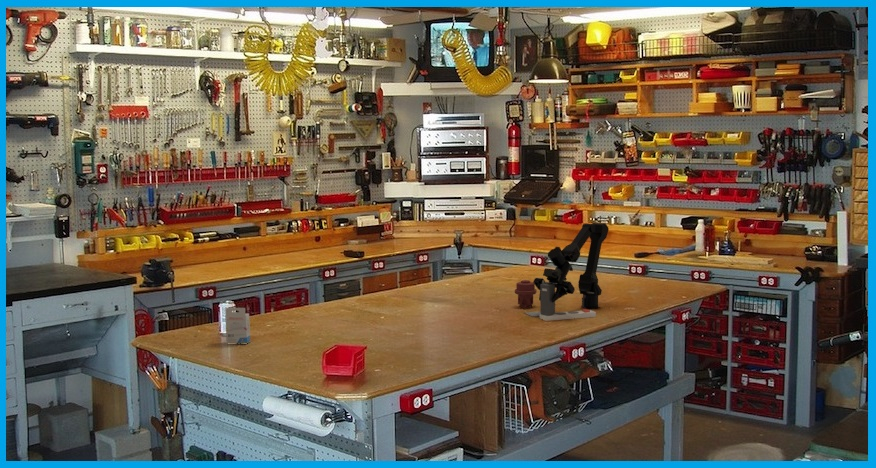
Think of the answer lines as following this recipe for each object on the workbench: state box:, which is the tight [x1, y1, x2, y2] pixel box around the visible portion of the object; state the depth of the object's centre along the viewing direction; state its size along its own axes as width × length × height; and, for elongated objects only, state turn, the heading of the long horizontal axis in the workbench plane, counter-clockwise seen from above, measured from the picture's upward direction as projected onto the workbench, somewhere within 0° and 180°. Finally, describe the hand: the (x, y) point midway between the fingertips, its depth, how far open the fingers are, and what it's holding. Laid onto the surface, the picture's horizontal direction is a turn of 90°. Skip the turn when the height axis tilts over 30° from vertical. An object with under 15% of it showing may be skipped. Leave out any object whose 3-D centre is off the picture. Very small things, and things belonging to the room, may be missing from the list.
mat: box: [524, 311, 540, 318], centre depth 456 cm, size 8×8×1 cm
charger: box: [539, 283, 556, 315], centre depth 445 cm, size 5×4×13 cm
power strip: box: [539, 308, 597, 322], centre depth 448 cm, size 24×6×3 cm, turn 107°
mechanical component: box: [514, 279, 537, 310], centre depth 473 cm, size 12×10×10 cm
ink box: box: [225, 307, 251, 344], centre depth 406 cm, size 8×5×15 cm, turn 83°
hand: (545, 301), depth 444 cm, fingers open, 6 cm apart
